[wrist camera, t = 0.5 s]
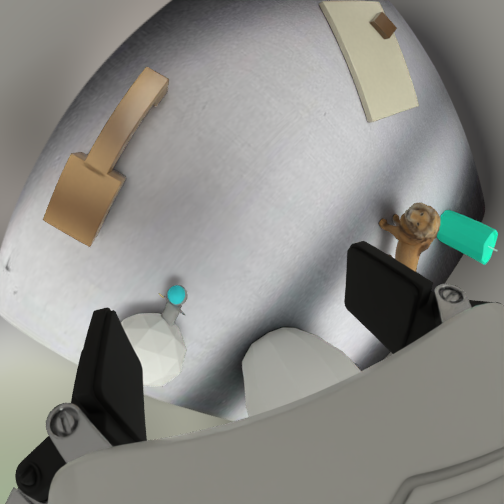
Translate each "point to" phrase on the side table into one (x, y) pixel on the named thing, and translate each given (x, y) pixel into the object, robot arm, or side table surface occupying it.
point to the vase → (290, 368)
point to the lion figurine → (413, 232)
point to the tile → (371, 58)
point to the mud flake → (383, 25)
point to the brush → (101, 164)
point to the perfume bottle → (159, 340)
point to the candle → (467, 236)
